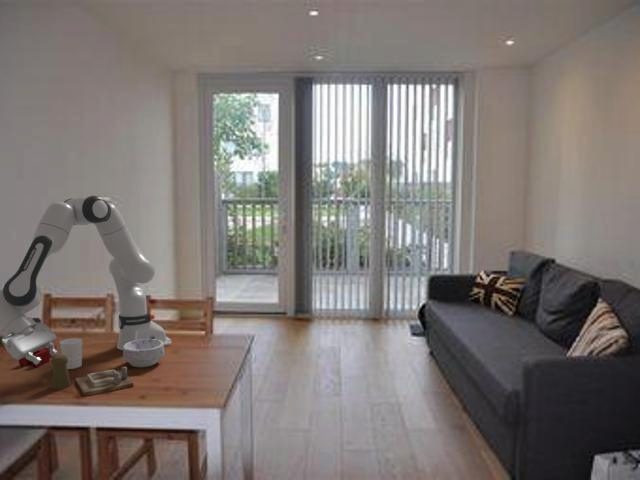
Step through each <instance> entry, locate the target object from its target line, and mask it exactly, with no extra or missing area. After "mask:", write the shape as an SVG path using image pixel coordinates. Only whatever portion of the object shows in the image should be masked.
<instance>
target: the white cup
mask: <svg viewBox="0 0 640 480" xmlns="http://www.w3.org/2000/svg"><path fill="white" fill-rule="evenodd" d="M59 348H60V355H66V356H67V357H68V362H67V369H68V370H74V369H78V368H80V367H82V365H83V339H82V338H80V337H79V338H78V337H73V338H72V337H71V338H66V339H63V340H61V341H59Z"/></svg>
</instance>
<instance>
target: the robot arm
mask: <svg viewBox="0 0 640 480" xmlns="http://www.w3.org/2000/svg"><path fill="white" fill-rule="evenodd" d="M91 224H93V225H95V227H96V229H97V232H98V234H99V236H100V238H101V240H102V242H103V244H104V246H105V249H106V250H107V251H106V252H108V253H109V254H110V255H111V256H112V257H113V259H111V261H110V262H109V264H108V270H109V273H110V274H111V276H112V278H113V281H114V283H115V287H116V291H117V296H118V297H117V298H118V306H119V314H118V319H117V321H118V328H119V335H118V341H117V346H116V349H118V350H120V351H123V346H124V345H125V344H126V343H128V342H131V341H134V340H140V339H157V340H161V341H162V342H163V343H164V347H165V346H170V345H172V340H171V338H170V337H168V336H167V335H166V331H165V330H164V328H163V327H162V326H161V325H159V324H157V323H156V322H155V321H153V320H155V319H156V316H155V314H153V313H152V314H151V313H149V312H148V311H147V295H146V292H145V291H144V289H143V286H142V284H143V285H144V284H147V283H149V282H151V281H152V280H153V279H154V277H155V274H156V270H155V266H154V264H153V263H152V262H151V261H150V260H149V259H148V258H147V257H146V256H145V254H144V253H143V252H142V250H141V249H140V248H139V246H138V244H137V243H136V242H135V240H134V239H133V236H132V234H131V231H130V230H129V228H128V226H127V223H126V222H125V219H124V217H123V216H122V214H121V213H120V211H119V210H118V207H116V205H115V204H113V203H110V202H107V200H106V199H104V198H103V197H101V196H99V195H98V196H97V195H83V196H82V195H81V196H77V197H73V198H69V199H65V200H64V201H55V202H52V203H50V205H49V206H48V207H47V208H46V210H45V212H44V213H43V215H42V216H41V218H40V220H39V222H38V225H37V226H36V229H35V233H34V235H33V238H32V240H31V243H30V246H29V248H28V250H27V252H26V253H25V255H24V258H23V260H22V261H21V264H20V265H19V268H18V269H17V270H16V272H15V273H14V274H13V275H12V276H11V277H10V278H8V280H7V281H6V282H5V284H4V285H3V288H2V289H0V332H1V333H2V334H3V337H2V338H1V343H2V344H3V345H4V348H5V349H6V351H7V353H9V355H10V356H11V357H12V358H13V359H14V360H17V361H19V359H21V358H23V357H25V358H26V359H27V360H30V361H33V363H34V364H36V365H37V364H39V363H40V362H41V359H40V358H39V357H35V356H34V355H32V354H33V353H34V352H36V351H38V350H40V349H42V348H44V347H46V348H47V349H48V348H49V350H50V354H51V355H52V356H54V355H55V356H56V355H58V349H57V350H56V349H55V347H54V345H55V344H54V342H55V340H56V339H57V334H56V333H55V332H54V331H53V330H52V329H51V327H49V326H48V325H46V324H45V323H43V320H42V318H40V317H30V316H28V317H27V316H26V315H25V314H26V313H28V312H30V311H32V310H34V309H35V308H36V307H38V306H39V304H40V303H41V301H42V292H41V289H39V288H38V286H37V281H38V276H39V274H40V272H41V270H42V268H43V266H44V264H45V262H46V260H47V258H48V257H49V256H50V255H53V254H56V253H58V252H59V253H60V252H61V251H62V249H63V248H64V247H65V245H66V243H67V241H68V239H69V236H70V234H71V231H72V228H73V227H74V226H87V225H91Z"/></svg>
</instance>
